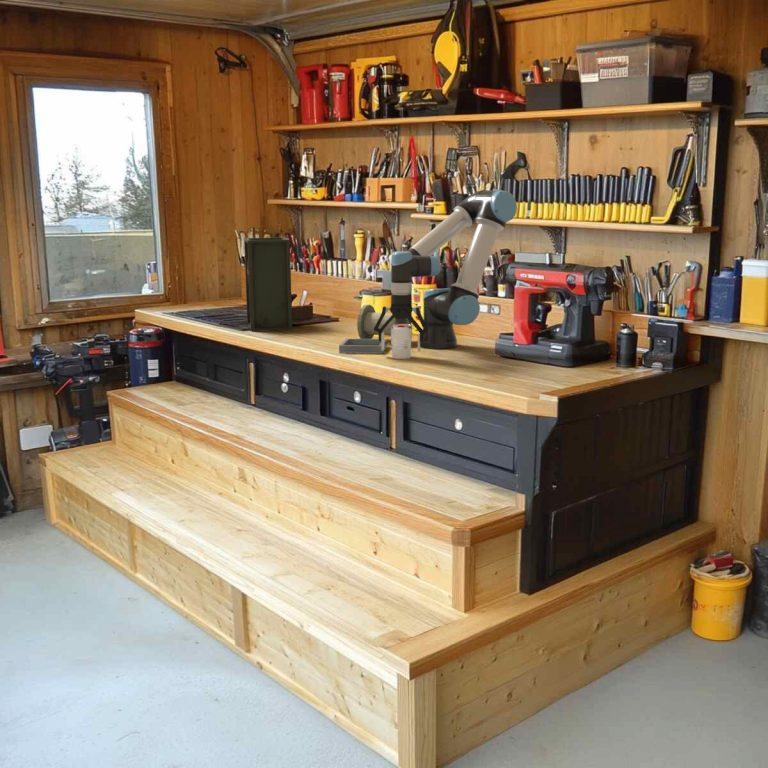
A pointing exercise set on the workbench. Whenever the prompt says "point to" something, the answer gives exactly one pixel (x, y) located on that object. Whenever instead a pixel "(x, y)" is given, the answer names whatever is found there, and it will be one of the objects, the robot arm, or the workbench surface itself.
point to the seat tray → (362, 346)
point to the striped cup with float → (401, 340)
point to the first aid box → (268, 283)
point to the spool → (374, 322)
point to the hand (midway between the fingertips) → (400, 350)
